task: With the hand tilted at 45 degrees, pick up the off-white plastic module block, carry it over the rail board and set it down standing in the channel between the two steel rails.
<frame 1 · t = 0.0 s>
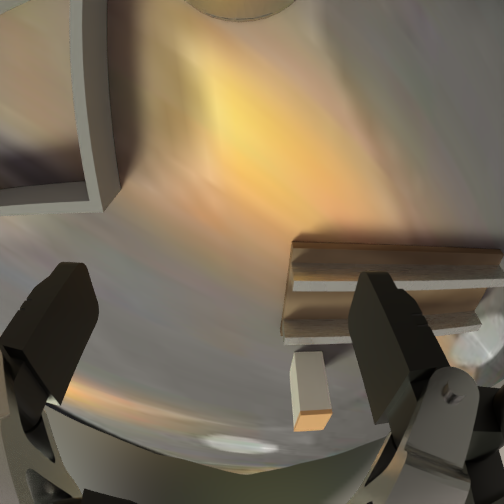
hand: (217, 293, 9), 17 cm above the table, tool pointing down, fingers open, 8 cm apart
large tray rim: (15, 97, 19), on the table
module block: (305, 362, 40), on the table
rail board: (400, 290, 32), on the table
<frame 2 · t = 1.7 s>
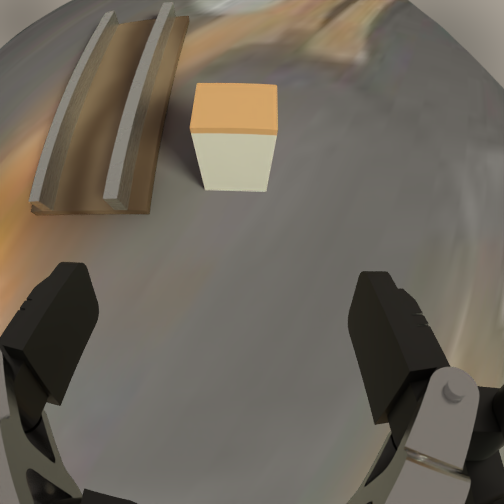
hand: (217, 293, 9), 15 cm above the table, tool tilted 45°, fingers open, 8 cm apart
module block: (236, 171, 26), on the table
rail board: (116, 97, 28), on the table
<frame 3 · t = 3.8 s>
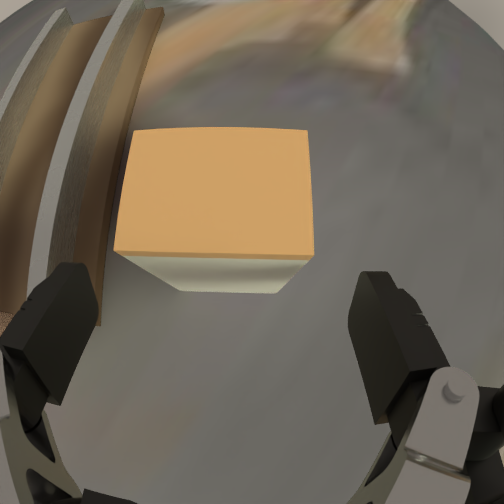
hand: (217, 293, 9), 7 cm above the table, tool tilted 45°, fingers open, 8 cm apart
module block: (228, 258, 17), on the table
rail board: (57, 130, 18), on the table
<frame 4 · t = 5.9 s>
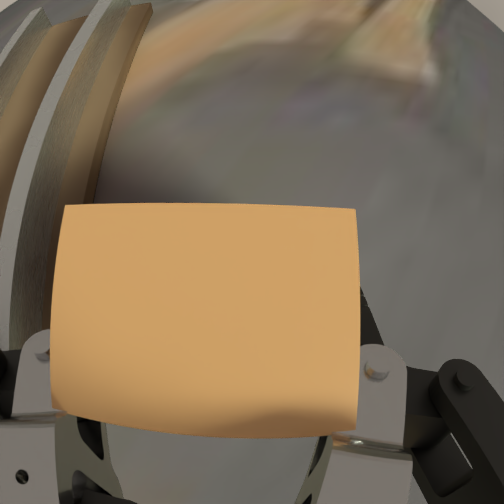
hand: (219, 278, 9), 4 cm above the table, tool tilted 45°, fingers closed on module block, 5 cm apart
module block: (226, 323, 13), on the table, touching gripper
rail board: (26, 153, 15), on the table
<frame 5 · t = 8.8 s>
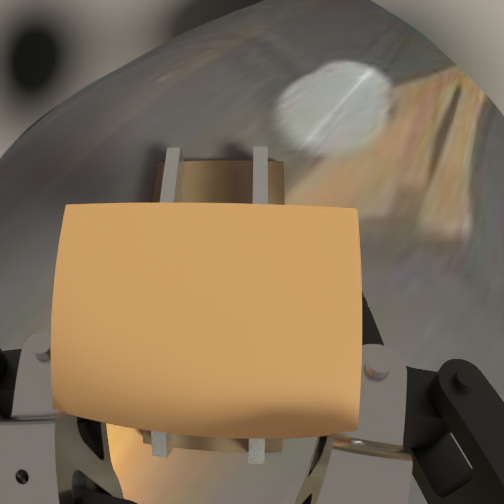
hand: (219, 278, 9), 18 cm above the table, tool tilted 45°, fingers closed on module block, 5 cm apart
module block: (227, 323, 13), point 13 cm above the table, touching gripper
rail board: (213, 303, 27), on the table
when the fingers open (7 cm above the table, at t = 12.1 s): module block drops 1 cm, resting on rail board.
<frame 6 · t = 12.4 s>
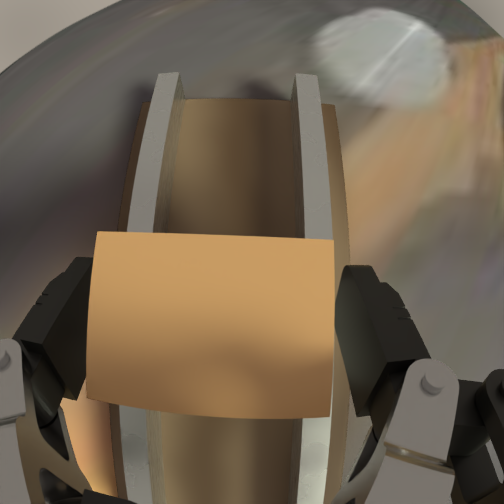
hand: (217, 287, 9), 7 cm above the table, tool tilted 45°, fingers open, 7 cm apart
module block: (228, 326, 15), point 1 cm above the table, touching rail board
rail board: (228, 324, 16), on the table
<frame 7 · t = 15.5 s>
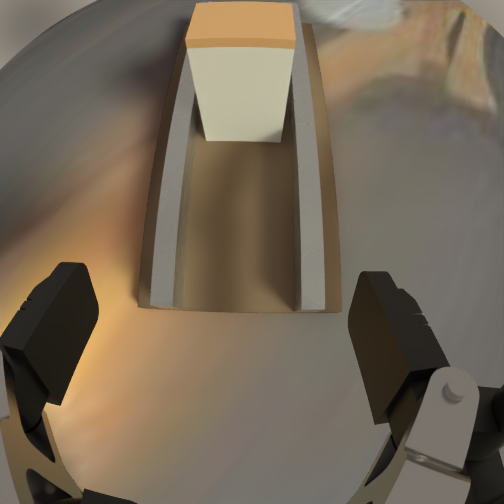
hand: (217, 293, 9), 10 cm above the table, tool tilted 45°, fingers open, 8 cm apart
module block: (244, 120, 21), point 1 cm above the table, touching rail board
rail board: (244, 127, 22), on the table
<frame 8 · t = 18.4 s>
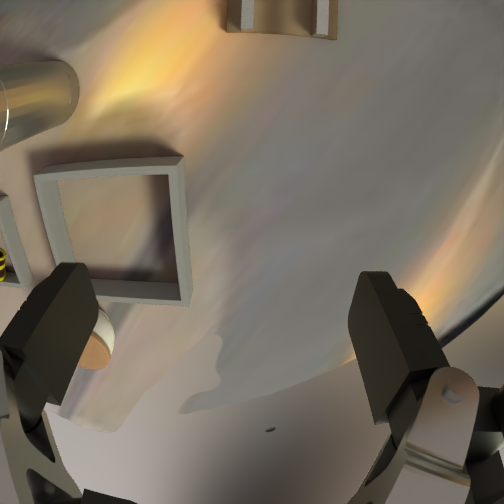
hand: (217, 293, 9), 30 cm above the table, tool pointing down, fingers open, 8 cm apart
large tray rim: (119, 228, 42), on the table
lidded jar: (95, 317, 51), on the table
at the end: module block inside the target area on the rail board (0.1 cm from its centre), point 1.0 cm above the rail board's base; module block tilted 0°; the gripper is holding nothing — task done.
